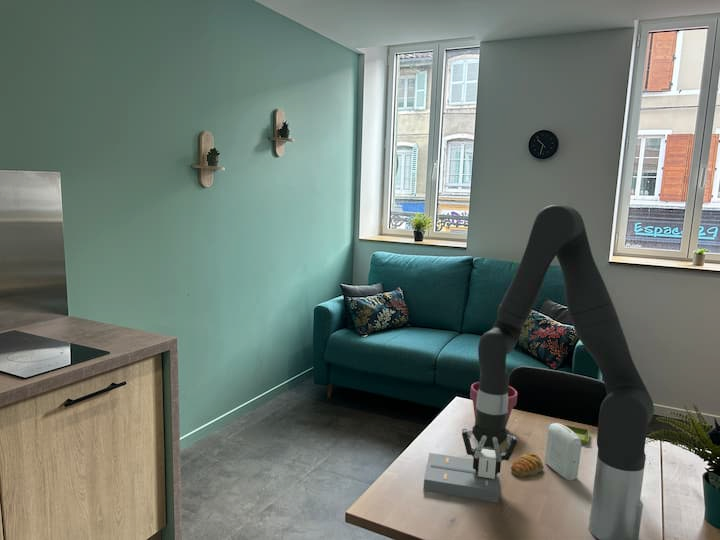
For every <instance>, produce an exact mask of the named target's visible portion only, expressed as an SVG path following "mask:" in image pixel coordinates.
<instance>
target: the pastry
mask: <svg viewBox="0 0 720 540" xmlns="http://www.w3.org/2000/svg"><path fill="white" fill-rule="evenodd" d="M544 468H545V466H544V464H543V462H542V460H541V457H540V456H539V455H537V454H535V453H533V452H532V453H529V452H527V453H526V454H523V455H519V456H518V457H517V458H516V459H514V461H513V462H512V465H511V467H510V470H511V471H510V472H511V473H512V474H514V475H517V476H519V477H521V478H525V477H532V476H534V475H537V474H539V473H541V472H542V471H544Z"/></svg>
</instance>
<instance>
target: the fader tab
mask: <svg viewBox="0 0 720 540" xmlns="http://www.w3.org/2000/svg"><path fill="white" fill-rule="evenodd" d="M495 468H496V454H495V449H487V448H483V449H482V451H481V453H480V455H479V467H478V476H479V477H485V478H492V479H495Z"/></svg>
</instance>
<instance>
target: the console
mask: <svg viewBox="0 0 720 540" xmlns="http://www.w3.org/2000/svg"><path fill="white" fill-rule="evenodd" d="M425 468H426V469H425V473H424V478H423V491H425V492H430V493H437V494H442V495H446V496H447V495H448V496H454V497H459V498H460V497H461V498H466V499H467V498H468V499H472V500H478V501H484V502H490V503H491V502H492V503H497V504H500V503H499V501H500V492H501V491H500V490H501V489H500V477H499V474H500V473H497V475H495V479H492V478H485V477H479V476H478V472H475V469H473V458H467V457H460V456H453V455H447V454H446V455H445V454H442V453H441V454H440V453H434V452H429V453H428V458H427V463H426V467H425ZM423 491H422V492H423Z"/></svg>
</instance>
